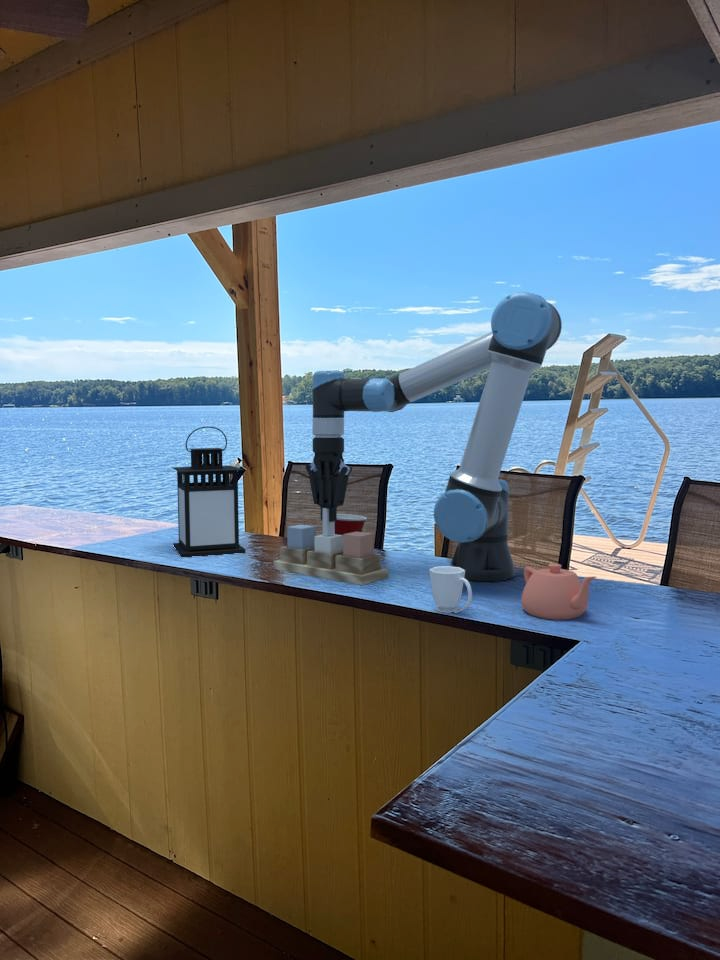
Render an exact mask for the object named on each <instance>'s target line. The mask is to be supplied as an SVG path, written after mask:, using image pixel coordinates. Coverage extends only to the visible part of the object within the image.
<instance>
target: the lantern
mask: <svg viewBox="0 0 720 960" xmlns="http://www.w3.org/2000/svg"><path fill="white" fill-rule="evenodd" d="M207 428H208V429H214V430H215V429H216V430H218V431H219V432H220V433H222V435H223V436H224V437H223V438H224V439H225V446H224V447H223V448H220V447H209V448H208V447H205V448H202V447H201V448H199V447H198V448H188V440H189V439H190V437H191V436H192V434H193V433H195V432H196V431H199V430H201V429H207ZM227 446H228V439H227V436H226V435H225V433H224V432H223V430H221V429H220V428H217V427H215V426H202V427H198V428H196V429H194V430H193V431H191V432H190V433H189V434H188V436H187V437H186V441H185V449H186V451H187V452H189V453H190V466H176V467H175V466H173V467H170V468H171V469H173V470H175V471H176V478H177V479H176V480H177V482H176V483H177V487H176V488H177V518H178V519H177V522H178V524H177V525H178V526H177V527H178V542H173V543H172V546H173V545H174V547H175V548H176V550H177V551H178V553H179V554H180V555H179V554H178V553H177V554H178V555H179V556H180V557H188V558H193V557H192V556H202V557H209V556H208V555H215V556H224V555H223V554H229V555H235V554H234V553H243V554H246V548H245V547H243V546H241V544H240V533H239V532H240V531H239V530H240V528H239V526H240V525H239V521H240V520H239V479H238V477H239V473H238V472H239V471H244V469H243V468H239V467H236V466H234V465H223V452H224V451H225V450H226V449H227ZM190 476H192V477H193V479H192V480H193V482H191V477H190ZM199 476H200V481H199ZM206 476H207V478H206ZM214 476H215V477H214ZM206 479H207V480H206ZM214 479H215V480H214ZM174 547H173V548H174ZM176 550H175V551H176ZM177 551H176V552H177Z"/></svg>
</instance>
